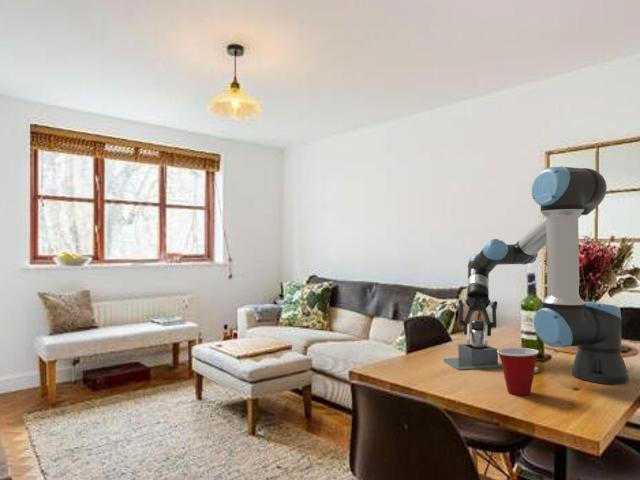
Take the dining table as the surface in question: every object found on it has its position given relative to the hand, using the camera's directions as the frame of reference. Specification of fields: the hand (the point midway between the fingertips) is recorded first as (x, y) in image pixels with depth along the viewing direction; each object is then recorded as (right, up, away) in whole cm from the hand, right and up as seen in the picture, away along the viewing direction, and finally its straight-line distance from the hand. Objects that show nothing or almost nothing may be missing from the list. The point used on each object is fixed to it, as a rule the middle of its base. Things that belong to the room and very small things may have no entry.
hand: (477, 342), depth 154 cm
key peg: (+1, -7, +3) cm, 8 cm away
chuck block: (-1, -8, +3) cm, 9 cm away
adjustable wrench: (+9, -9, -13) cm, 18 cm away
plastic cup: (+2, -8, -27) cm, 29 cm away
